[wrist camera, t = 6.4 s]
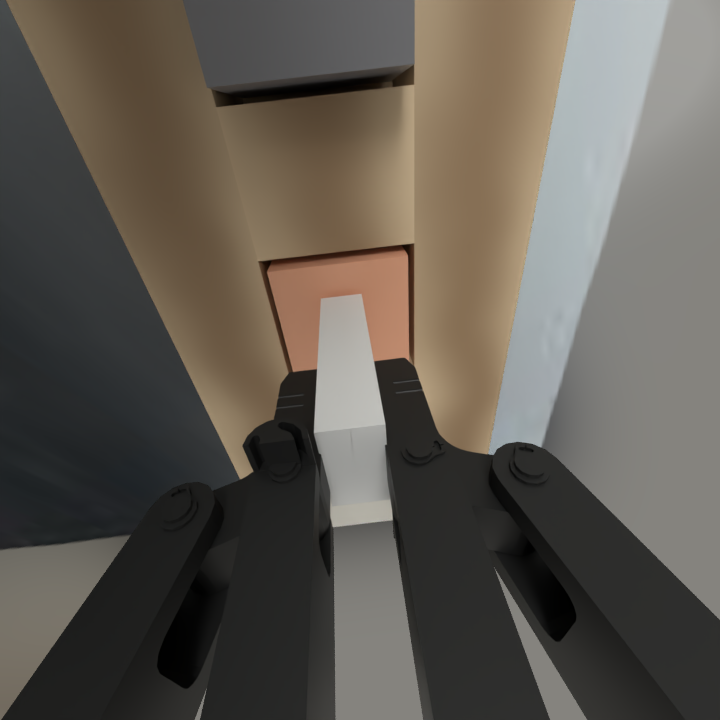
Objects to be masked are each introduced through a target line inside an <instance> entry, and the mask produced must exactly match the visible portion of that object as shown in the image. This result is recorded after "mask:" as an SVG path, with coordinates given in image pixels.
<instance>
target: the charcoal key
mask: <svg viewBox="0 0 720 720" xmlns="http://www.w3.org/2000/svg"><path fill="white" fill-rule="evenodd" d="M183 4H184V7H185V11H186V14H187V18H188V22H189V25H190V29H191V32H192V36H193V40H194V43H195V47H196V50H197V54H198V58H199V61H200V65H201V68H202V72H203V76H204V79H205V83H206V86H207V88H210V89H213V90H216V91H220V92H223V93H226V94H230V95H233V96H236V97H240V98H250V97H259V96H268V95H276V94H285V93H294V92H303V91H311V90H320V89H329V88H338V87H347V86H355V85H364V84H373V83H382V82H390V81H392V80H393V79H395V78H396V77H397V76H399V75H400V74H402V73H403V72H404V71H406V70H407V69H408V68H410V67H411V66H413V65H414V64H415V0H183Z"/></svg>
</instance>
